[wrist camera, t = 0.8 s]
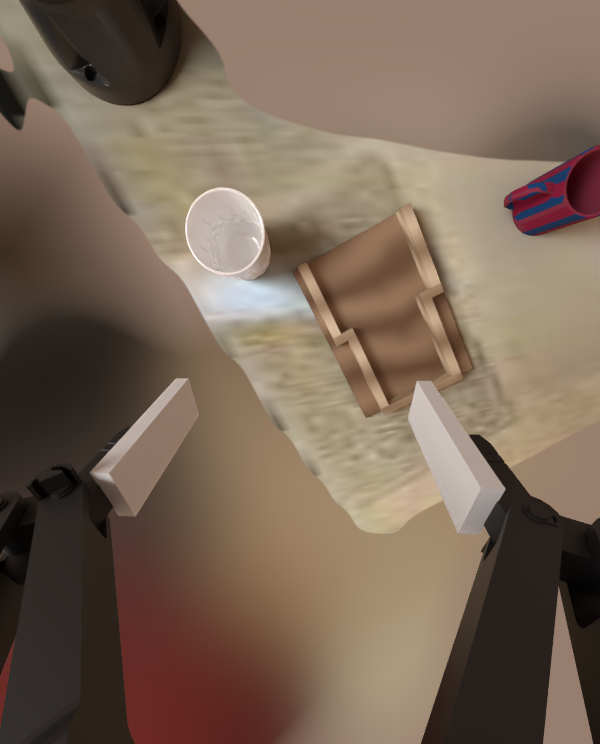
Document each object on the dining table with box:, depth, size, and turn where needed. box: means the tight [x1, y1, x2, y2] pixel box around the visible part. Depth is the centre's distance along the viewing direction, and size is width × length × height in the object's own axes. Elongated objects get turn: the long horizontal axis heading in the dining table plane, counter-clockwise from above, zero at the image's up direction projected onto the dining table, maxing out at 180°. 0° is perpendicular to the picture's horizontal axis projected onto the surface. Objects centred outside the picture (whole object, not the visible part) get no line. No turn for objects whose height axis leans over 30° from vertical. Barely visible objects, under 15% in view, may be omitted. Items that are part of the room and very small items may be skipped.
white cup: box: [185, 188, 271, 280], centre depth 30 cm, size 8×8×10 cm
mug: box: [504, 145, 600, 236], centre depth 30 cm, size 7×10×7 cm
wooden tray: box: [293, 203, 472, 418], centre depth 36 cm, size 24×17×3 cm
